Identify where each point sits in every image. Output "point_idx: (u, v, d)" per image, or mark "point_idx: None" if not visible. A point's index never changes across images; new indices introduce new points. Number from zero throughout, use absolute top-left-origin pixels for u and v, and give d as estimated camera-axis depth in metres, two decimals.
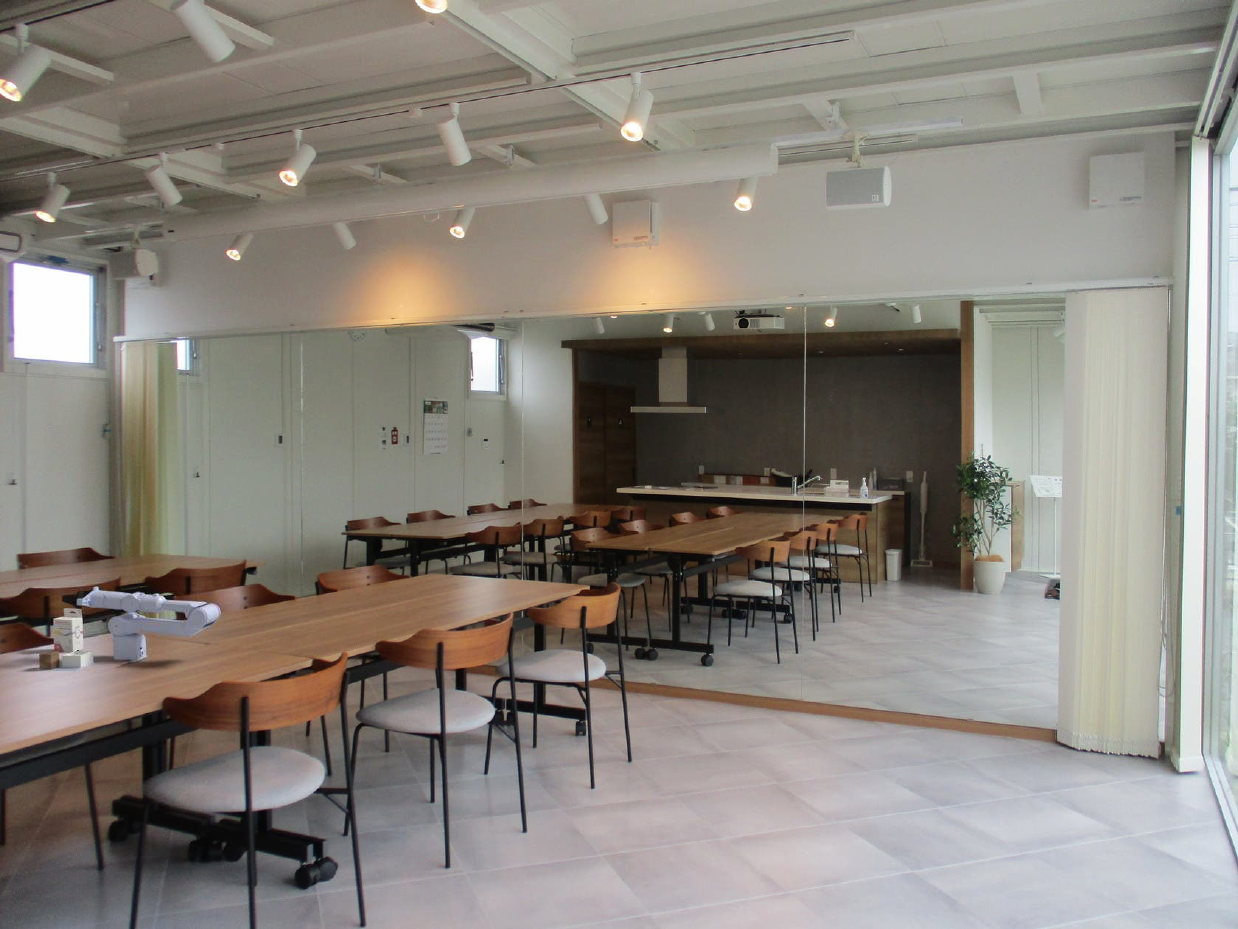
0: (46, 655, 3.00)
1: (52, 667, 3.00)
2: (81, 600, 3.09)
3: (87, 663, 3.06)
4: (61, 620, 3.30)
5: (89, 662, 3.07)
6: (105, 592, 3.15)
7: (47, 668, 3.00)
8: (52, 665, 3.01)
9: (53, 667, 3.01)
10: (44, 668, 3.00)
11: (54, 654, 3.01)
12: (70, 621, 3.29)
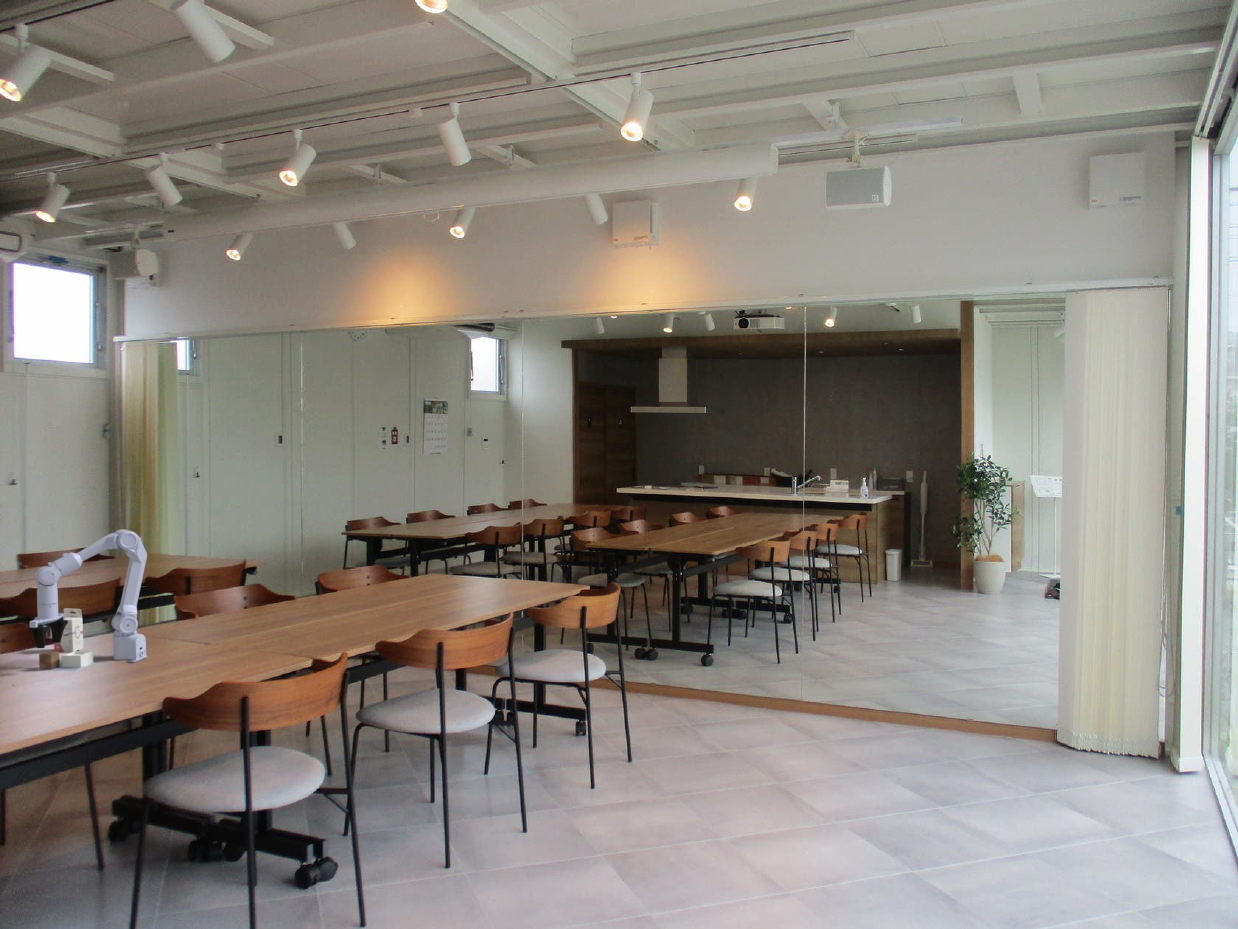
0: (46, 655, 3.00)
1: (52, 667, 3.00)
2: (30, 622, 2.94)
3: (87, 663, 3.06)
4: None
5: (89, 662, 3.07)
6: None
7: (47, 668, 3.00)
8: (52, 665, 3.01)
9: (53, 667, 3.01)
10: (44, 668, 3.00)
11: (54, 654, 3.01)
12: (70, 621, 3.29)
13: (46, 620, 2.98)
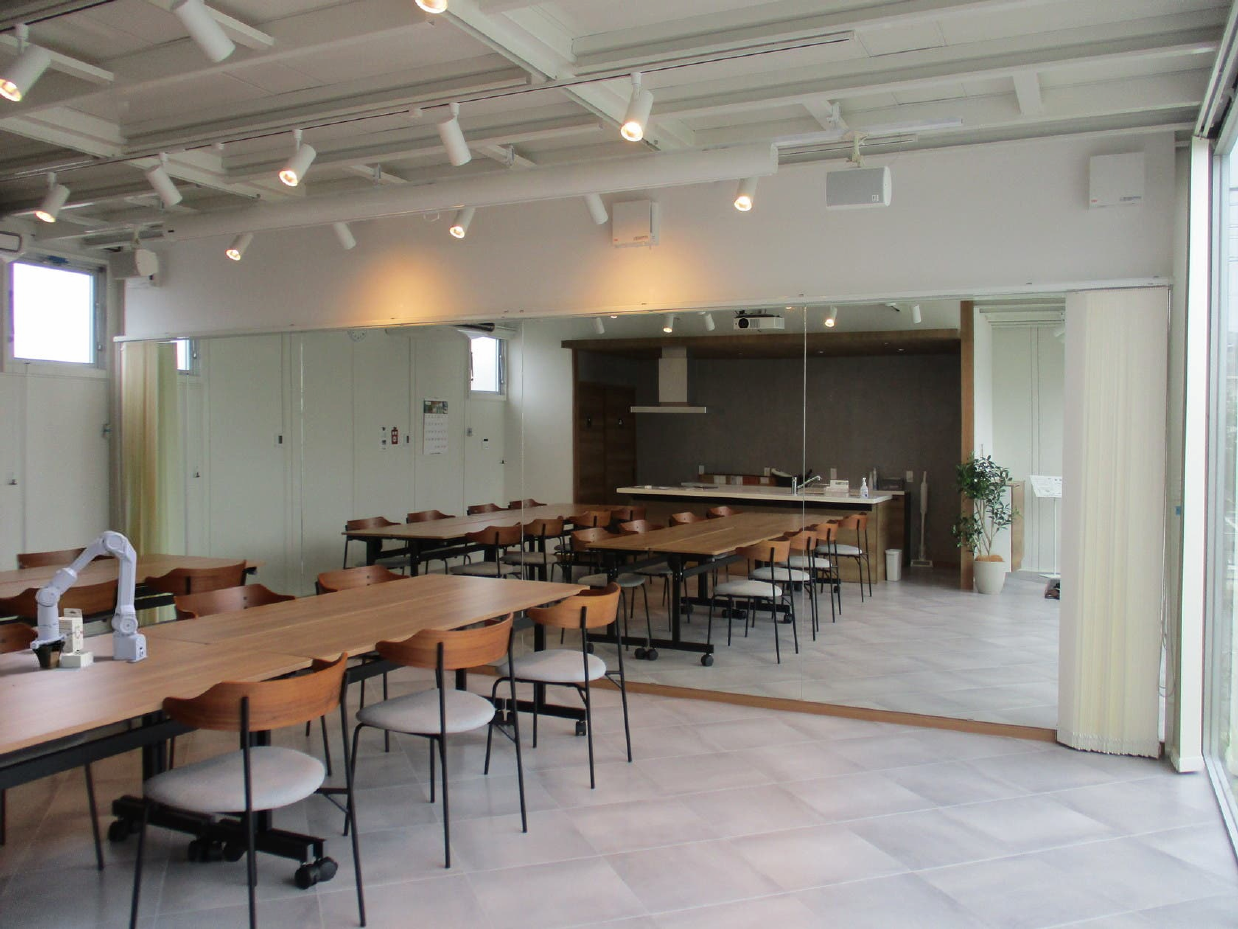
0: None
1: (52, 667, 3.00)
2: (31, 643, 2.95)
3: (87, 663, 3.06)
4: (61, 620, 3.30)
5: (89, 662, 3.07)
6: None
7: (47, 668, 3.00)
8: (52, 665, 3.01)
9: (53, 667, 3.01)
10: (44, 668, 3.00)
11: (54, 654, 3.01)
12: (70, 621, 3.29)
13: (47, 641, 2.98)
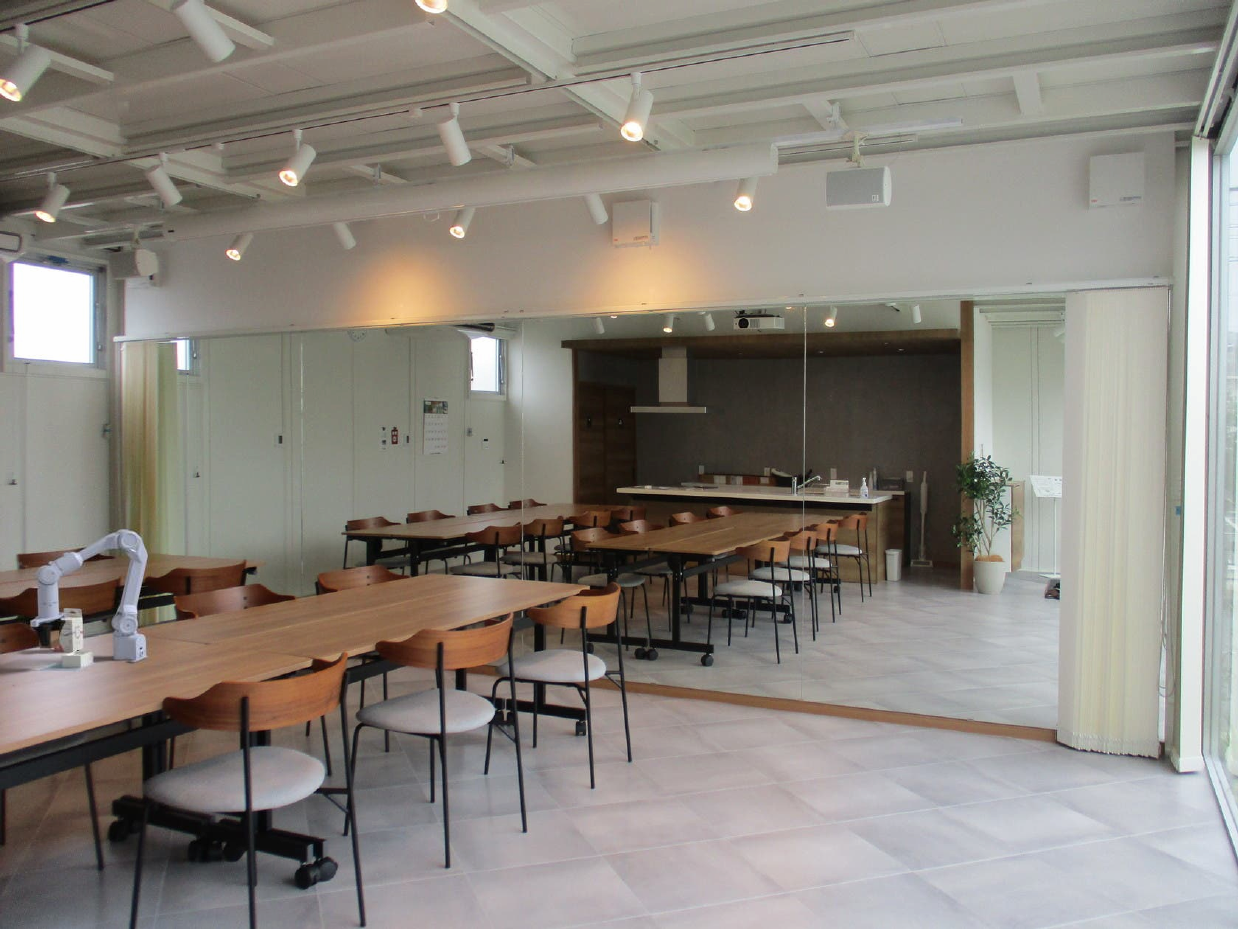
0: None
1: (52, 646, 3.00)
2: (31, 621, 2.95)
3: (87, 663, 3.06)
4: None
5: (89, 662, 3.07)
6: None
7: (47, 647, 3.00)
8: (52, 644, 3.01)
9: (53, 646, 3.01)
10: (44, 647, 3.00)
11: (54, 633, 3.01)
12: (70, 621, 3.29)
13: (47, 619, 2.98)
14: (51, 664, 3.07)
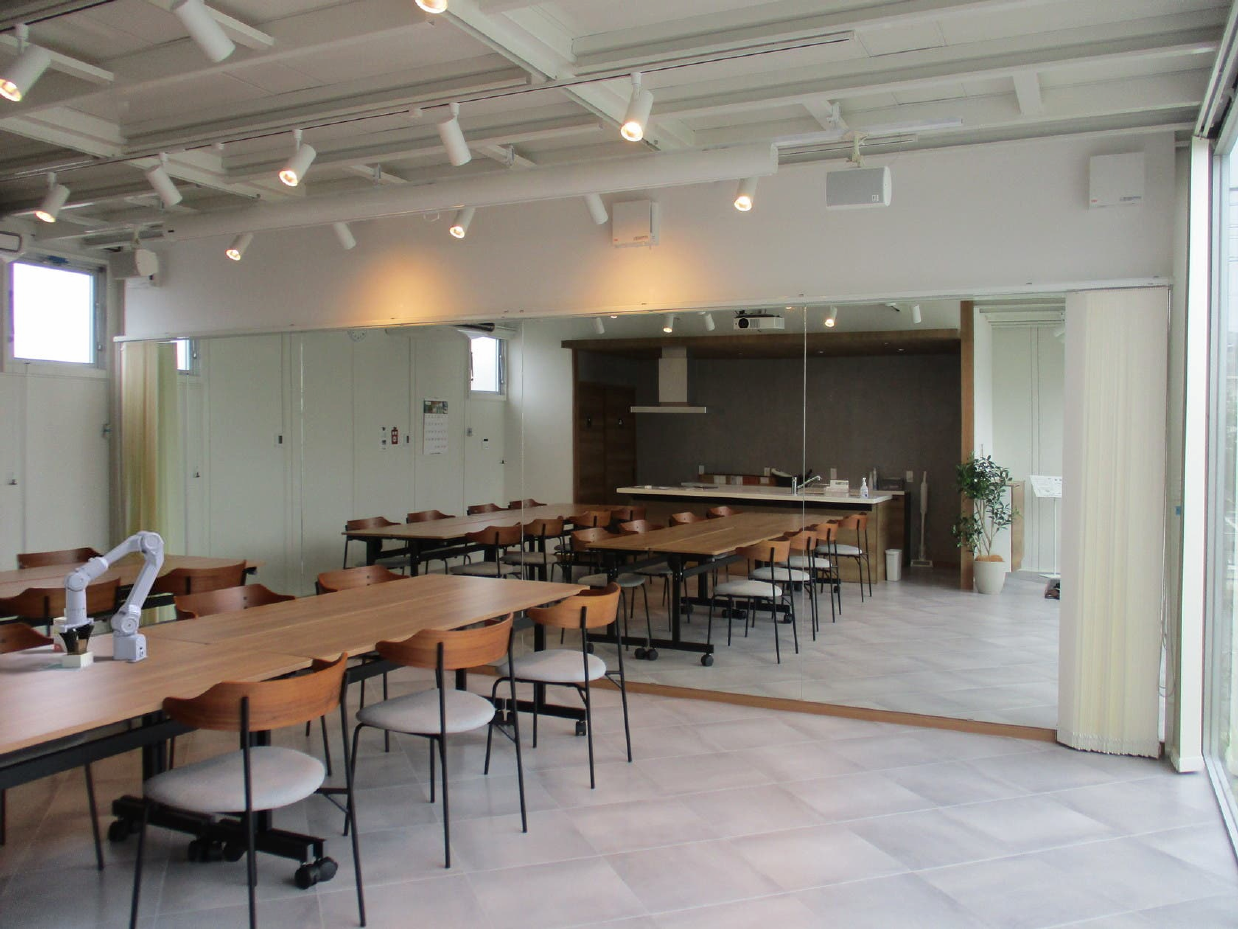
0: None
1: None
2: (59, 627, 2.99)
3: (87, 663, 3.06)
4: (61, 620, 3.30)
5: (89, 662, 3.07)
6: None
7: None
8: (80, 653, 3.05)
9: None
10: None
11: (82, 642, 3.05)
12: None
13: (75, 625, 3.02)
14: (51, 664, 3.07)
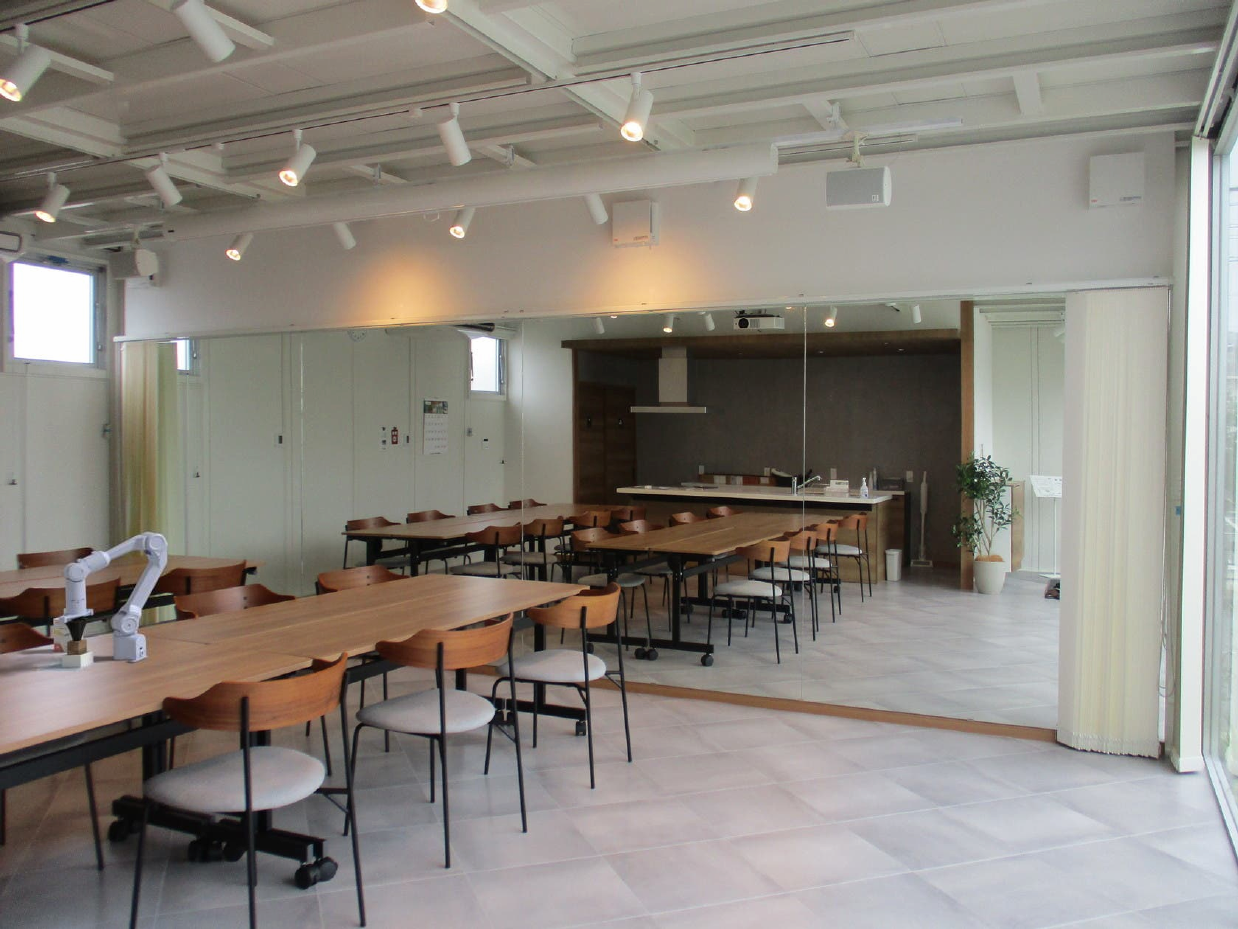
0: (74, 643, 3.04)
1: None
2: (59, 618, 2.98)
3: (87, 663, 3.06)
4: None
5: (89, 662, 3.07)
6: None
7: None
8: (80, 653, 3.05)
9: None
10: None
11: (82, 642, 3.05)
12: None
13: (75, 616, 3.02)
14: (51, 664, 3.07)
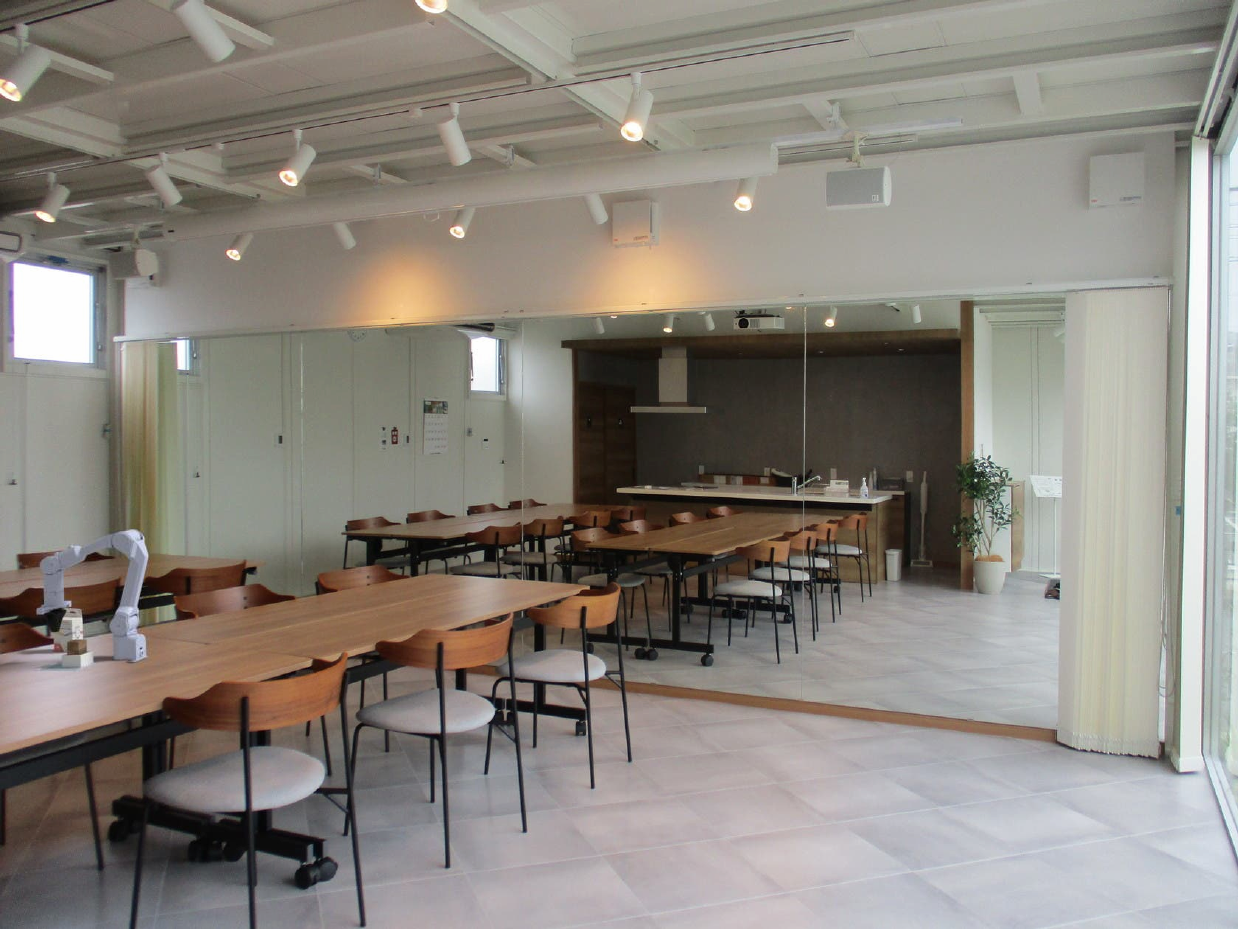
0: (74, 643, 3.04)
1: None
2: (37, 609, 3.06)
3: (87, 663, 3.06)
4: None
5: (89, 662, 3.07)
6: None
7: None
8: (80, 653, 3.05)
9: None
10: None
11: (82, 642, 3.05)
12: (70, 621, 3.29)
13: (52, 607, 3.10)
14: (51, 664, 3.07)
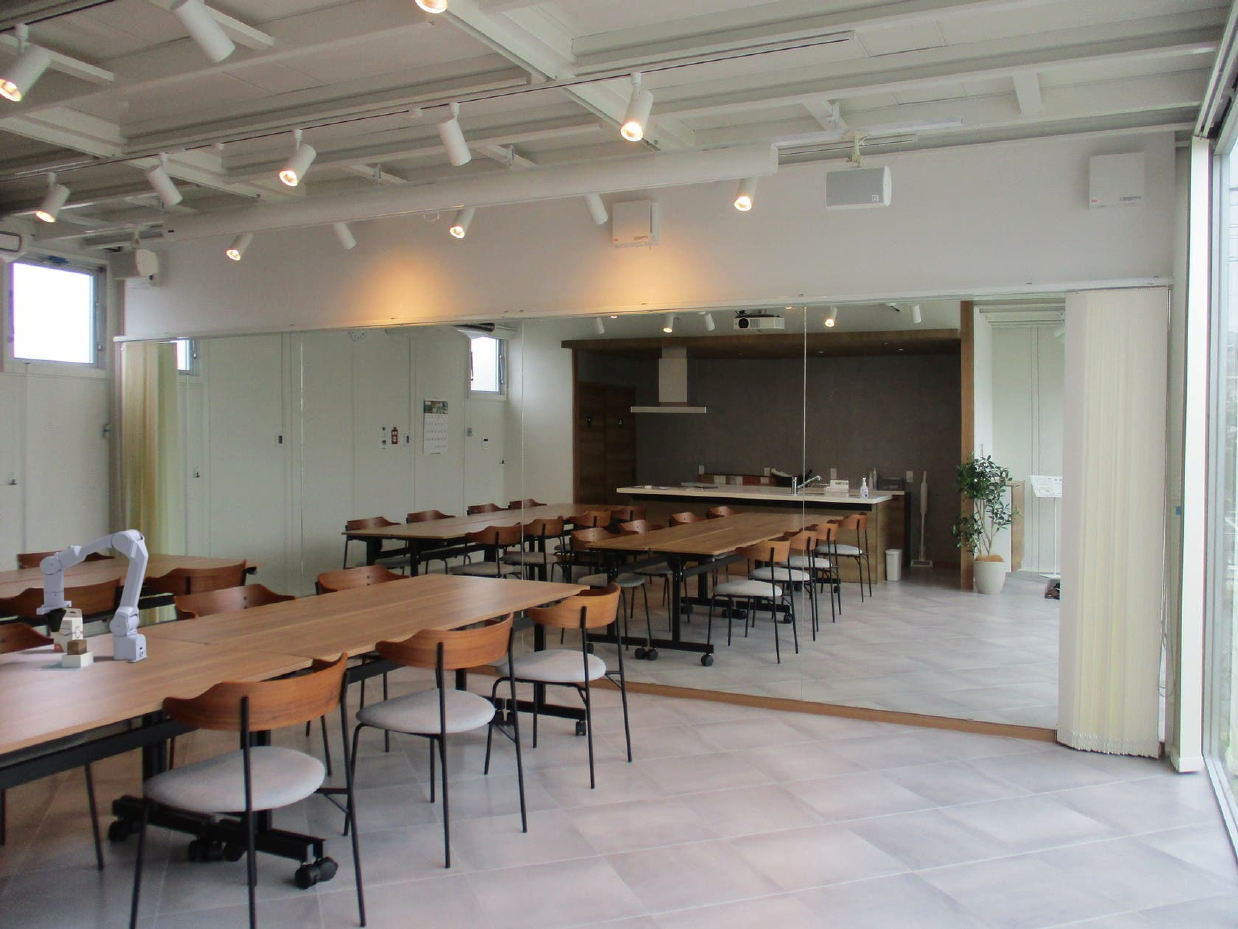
0: (74, 643, 3.04)
1: None
2: (37, 609, 3.06)
3: (87, 663, 3.06)
4: None
5: (89, 662, 3.07)
6: None
7: None
8: (80, 653, 3.05)
9: None
10: None
11: (82, 642, 3.05)
12: (70, 621, 3.29)
13: (52, 607, 3.10)
14: (51, 664, 3.07)
